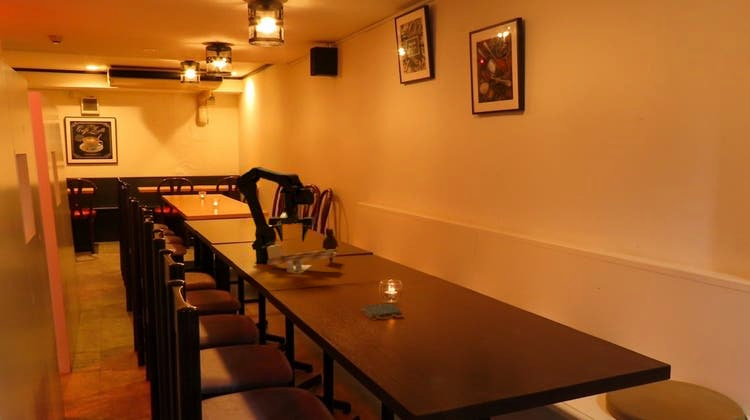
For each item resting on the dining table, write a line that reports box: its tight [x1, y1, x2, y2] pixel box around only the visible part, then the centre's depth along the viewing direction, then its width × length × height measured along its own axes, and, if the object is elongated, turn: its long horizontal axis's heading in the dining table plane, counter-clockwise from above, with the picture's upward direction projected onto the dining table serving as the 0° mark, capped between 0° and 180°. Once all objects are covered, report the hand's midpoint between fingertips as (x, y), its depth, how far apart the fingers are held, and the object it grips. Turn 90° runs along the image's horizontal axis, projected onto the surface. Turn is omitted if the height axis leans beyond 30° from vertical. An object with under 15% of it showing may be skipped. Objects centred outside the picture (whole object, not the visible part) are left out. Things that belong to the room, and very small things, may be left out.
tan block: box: [267, 243, 285, 260], centre depth 242 cm, size 5×5×6 cm
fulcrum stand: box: [286, 261, 313, 275], centre depth 241 cm, size 10×16×5 cm, turn 170°
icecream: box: [321, 227, 339, 263], centre depth 256 cm, size 7×7×15 cm
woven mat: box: [361, 302, 405, 321], centre depth 176 cm, size 10×11×2 cm
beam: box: [266, 248, 339, 266], centre depth 240 cm, size 28×8×2 cm, turn 80°
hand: (292, 241), depth 245 cm, fingers open, 9 cm apart
